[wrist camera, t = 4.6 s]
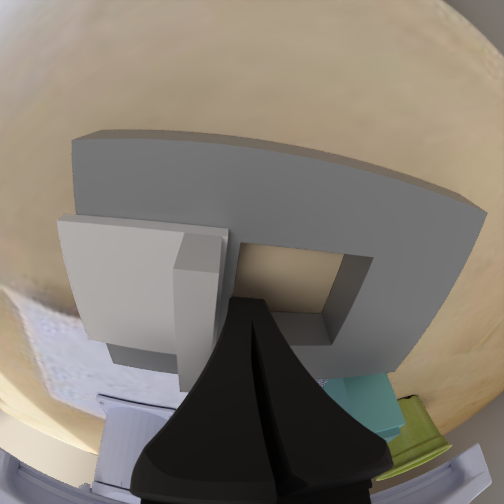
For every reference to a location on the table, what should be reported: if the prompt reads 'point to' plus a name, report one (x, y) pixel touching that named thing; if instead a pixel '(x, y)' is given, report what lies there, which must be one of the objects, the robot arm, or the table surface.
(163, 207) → the socket plate
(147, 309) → the white stepped block
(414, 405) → the plant pot
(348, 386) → the plug
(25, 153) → the table surface
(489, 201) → the table surface
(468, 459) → the robot arm
